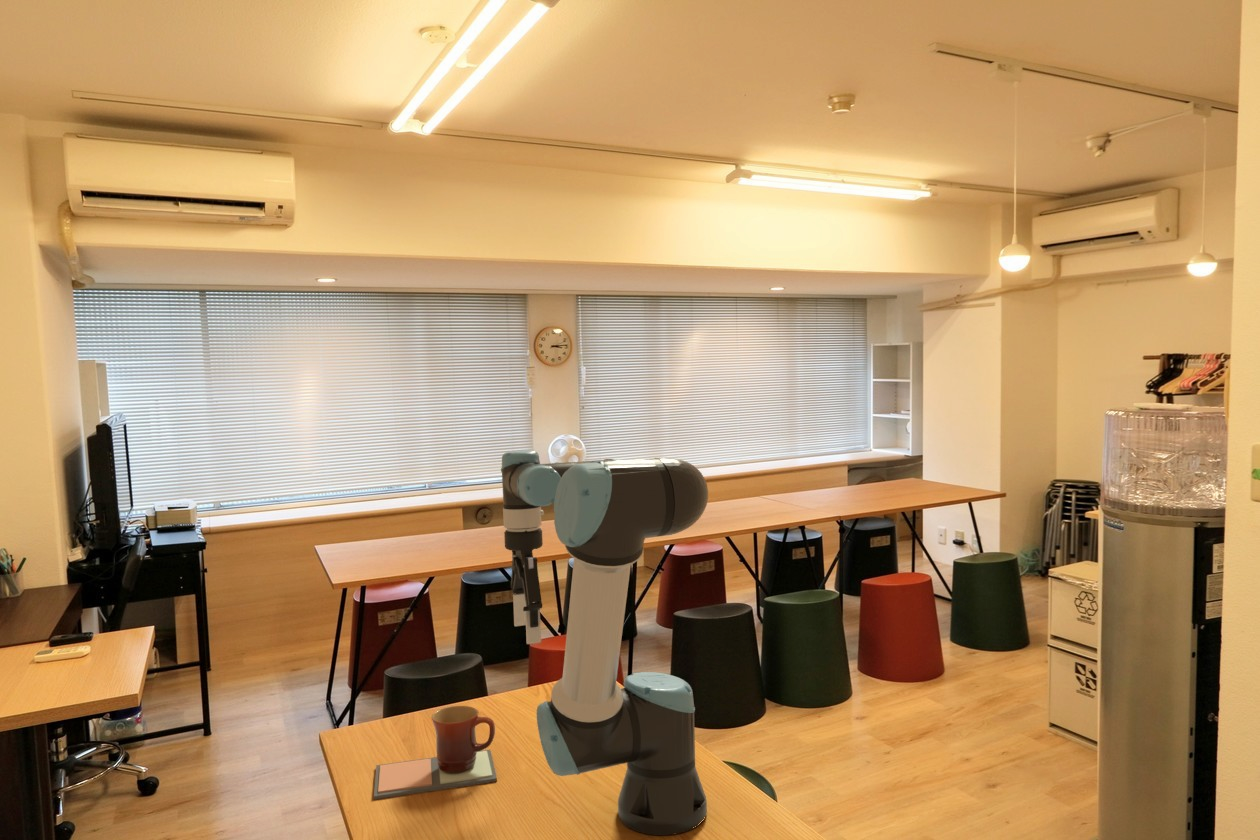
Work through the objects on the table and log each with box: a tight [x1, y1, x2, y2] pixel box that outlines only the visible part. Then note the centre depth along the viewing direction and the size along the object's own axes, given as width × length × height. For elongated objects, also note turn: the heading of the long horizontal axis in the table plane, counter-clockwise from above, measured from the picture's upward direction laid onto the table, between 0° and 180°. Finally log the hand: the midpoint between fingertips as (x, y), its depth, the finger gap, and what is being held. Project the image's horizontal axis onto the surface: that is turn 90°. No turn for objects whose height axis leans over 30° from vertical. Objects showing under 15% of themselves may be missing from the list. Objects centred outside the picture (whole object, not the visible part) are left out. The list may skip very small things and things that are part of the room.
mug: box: [431, 705, 496, 774], centre depth 161 cm, size 12×9×10 cm
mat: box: [373, 749, 498, 800], centre depth 160 cm, size 13×22×1 cm, turn 105°
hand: (527, 633), depth 169 cm, fingers open, 13 cm apart
